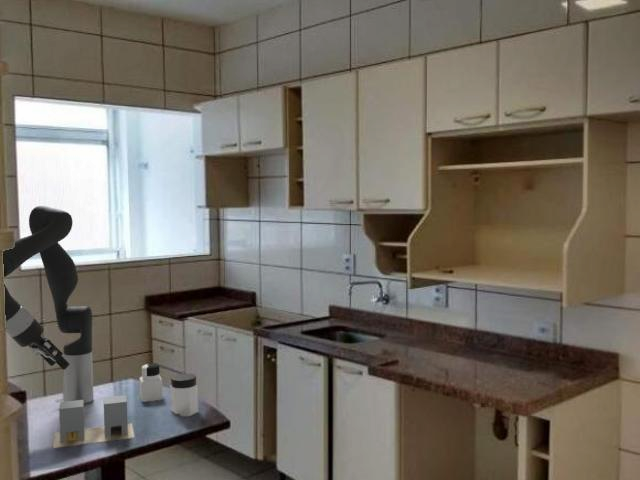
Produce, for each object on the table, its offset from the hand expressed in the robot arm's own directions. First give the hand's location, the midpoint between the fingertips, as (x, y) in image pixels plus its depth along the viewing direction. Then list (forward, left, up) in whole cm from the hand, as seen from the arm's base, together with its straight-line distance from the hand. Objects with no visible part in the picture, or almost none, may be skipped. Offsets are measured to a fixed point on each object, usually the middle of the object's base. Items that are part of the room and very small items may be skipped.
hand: (60, 365), depth 181 cm
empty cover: (+9, +12, -22) cm, 27 cm away
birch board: (+5, +7, -23) cm, 25 cm away
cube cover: (+1, +3, -22) cm, 22 cm away
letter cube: (+1, +3, -22) cm, 22 cm away
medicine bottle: (-6, +43, -23) cm, 49 cm away
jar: (+14, +37, -23) cm, 46 cm away
